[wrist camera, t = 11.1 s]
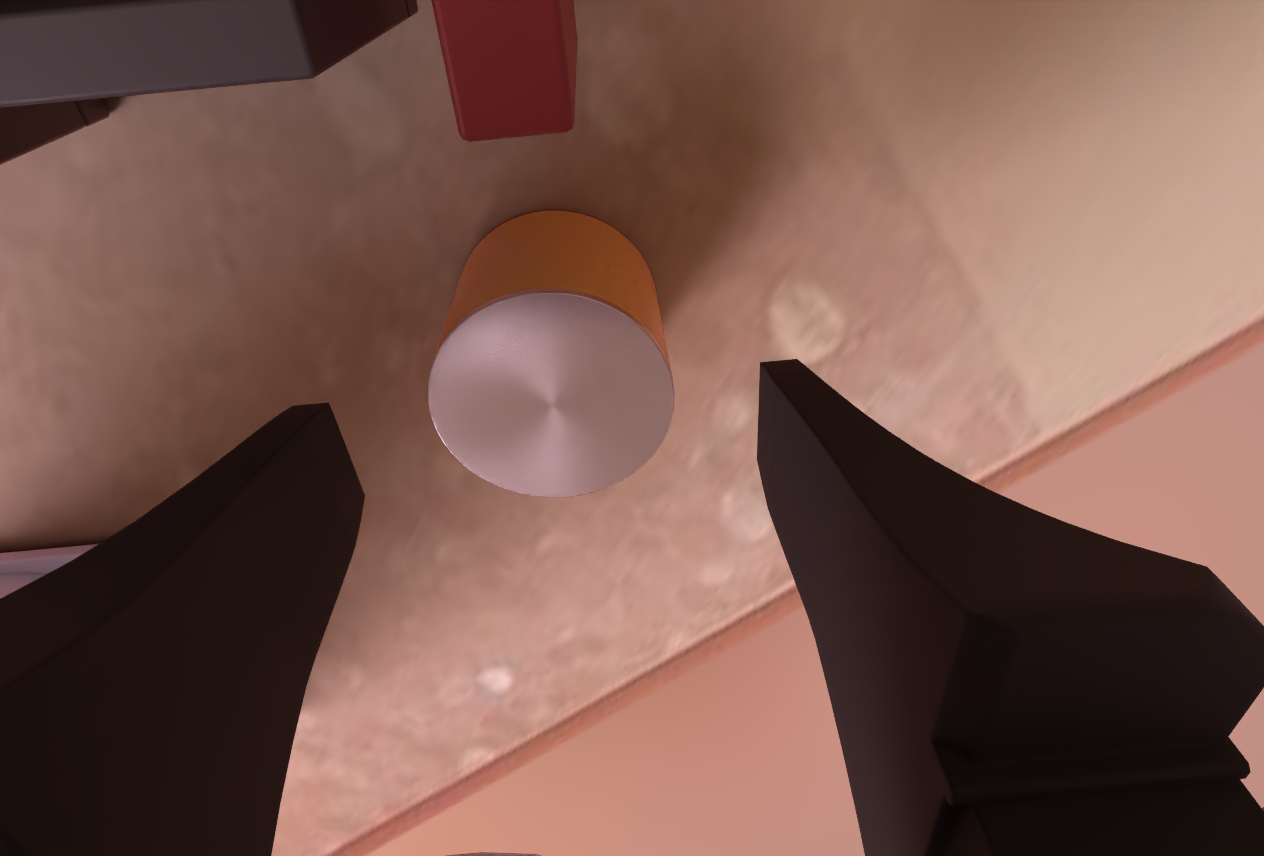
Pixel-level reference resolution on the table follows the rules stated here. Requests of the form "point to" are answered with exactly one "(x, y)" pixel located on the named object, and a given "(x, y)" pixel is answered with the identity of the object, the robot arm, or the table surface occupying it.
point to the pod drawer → (291, 51)
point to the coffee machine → (44, 124)
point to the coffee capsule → (553, 359)
